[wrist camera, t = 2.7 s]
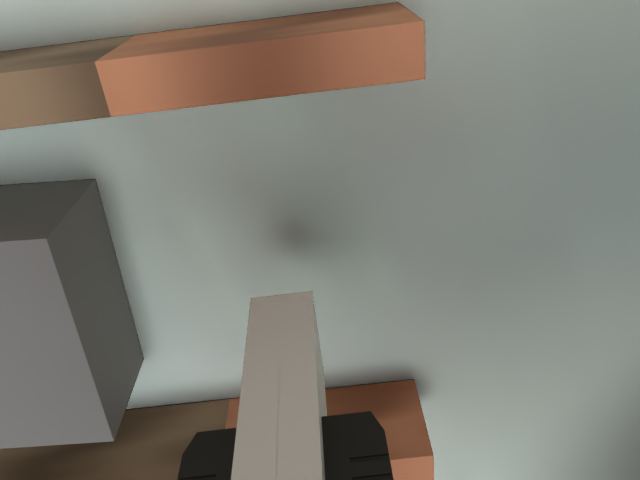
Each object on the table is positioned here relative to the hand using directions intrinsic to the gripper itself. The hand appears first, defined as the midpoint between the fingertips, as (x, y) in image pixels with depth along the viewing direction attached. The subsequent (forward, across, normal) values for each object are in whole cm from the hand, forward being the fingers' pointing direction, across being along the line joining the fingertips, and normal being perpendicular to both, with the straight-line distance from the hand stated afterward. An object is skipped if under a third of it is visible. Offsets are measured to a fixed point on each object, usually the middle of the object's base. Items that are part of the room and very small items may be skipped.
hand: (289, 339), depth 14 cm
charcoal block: (+5, +9, 0) cm, 11 cm away
